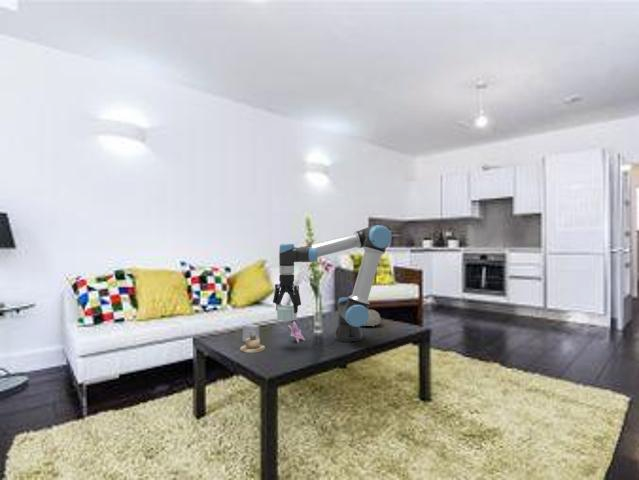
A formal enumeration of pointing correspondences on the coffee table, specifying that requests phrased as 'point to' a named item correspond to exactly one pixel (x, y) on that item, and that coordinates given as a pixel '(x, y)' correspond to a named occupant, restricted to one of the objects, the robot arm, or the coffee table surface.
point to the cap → (285, 313)
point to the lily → (296, 332)
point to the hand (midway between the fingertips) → (286, 318)
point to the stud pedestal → (252, 344)
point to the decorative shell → (373, 318)
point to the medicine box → (247, 331)
